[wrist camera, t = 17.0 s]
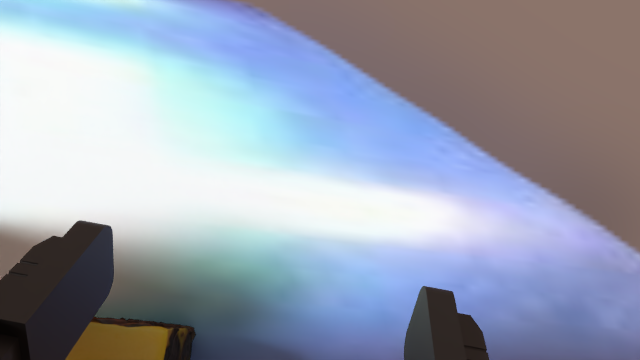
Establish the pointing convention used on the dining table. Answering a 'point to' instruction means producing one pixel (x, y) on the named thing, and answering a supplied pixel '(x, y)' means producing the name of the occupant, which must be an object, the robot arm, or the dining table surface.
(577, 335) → the dining table surface
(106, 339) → the yellow patterned cube
